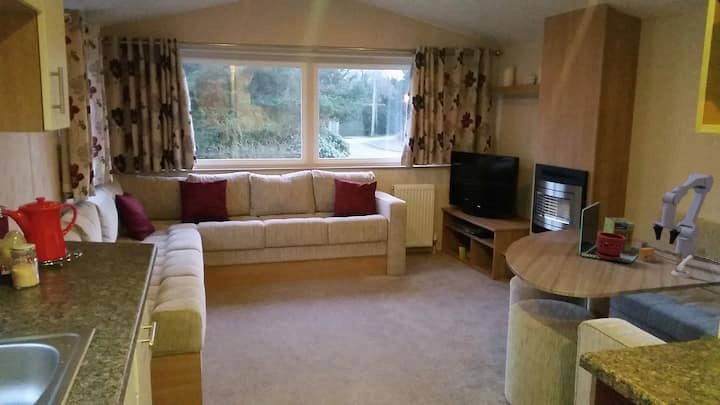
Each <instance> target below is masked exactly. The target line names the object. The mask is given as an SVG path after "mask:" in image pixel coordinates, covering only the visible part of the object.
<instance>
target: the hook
mask: <svg viewBox="0 0 720 405" xmlns="http://www.w3.org/2000/svg"><path fill="white" fill-rule="evenodd" d="M693 259H694V257H693V256H691V255H689V256H688V257H686V258H684V259H682V262H681V263H680V264H677V266H676V267H677V269H673V270H672V271H671V274H672V275H673V276H676V277H679V278H690V277H691V274H690V272H689V271H687V270H686V268H687V267H686V265H687V264H689V263H690V262H691V261H692V260H693Z"/></svg>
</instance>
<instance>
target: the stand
mask: <svg viewBox="0 0 720 405" xmlns="http://www.w3.org/2000/svg"><path fill="white" fill-rule="evenodd" d="M649 247H650V248H654V249H655V250H654V251H657V252H661V253H663V254H667V255H670V256H673V257H676V258H672V257H669V256H666V255H663V254H659V253H657V252H654V256H653V259H654V258H655V259H658V260H660V261H664V262H666V263H670V264H673V265H676V266H678V265H679V264H680V263H681V262H682V261H683V258H684V257H683V253H674V252H675V251H669V250H667V249H663V248H659V247H658V246H654V245H650V244H648V242H645V241H643V242H642V243H641V247H640V248H649ZM638 253H639V250H638Z"/></svg>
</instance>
